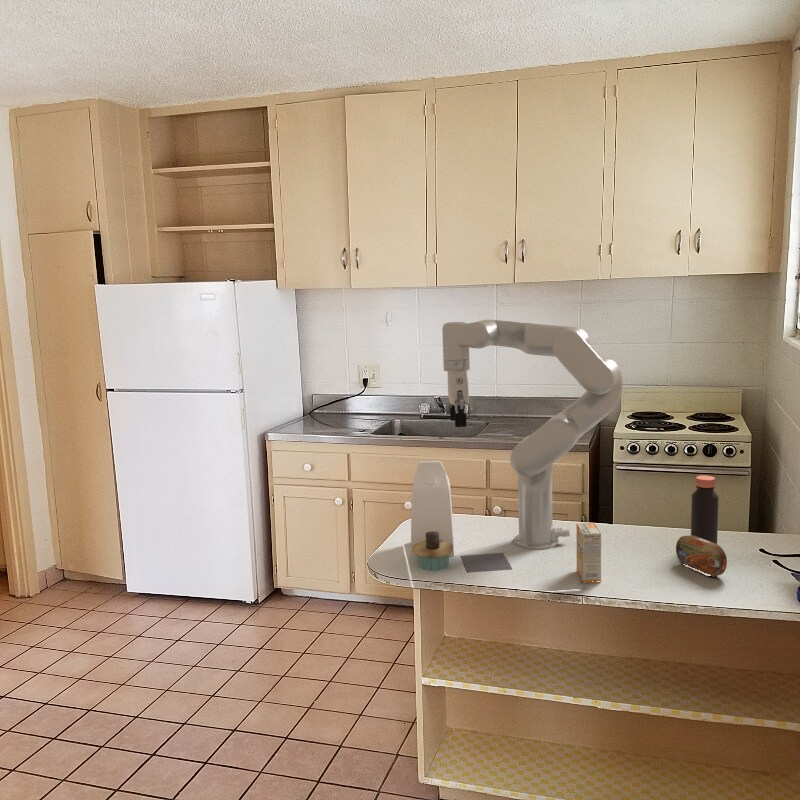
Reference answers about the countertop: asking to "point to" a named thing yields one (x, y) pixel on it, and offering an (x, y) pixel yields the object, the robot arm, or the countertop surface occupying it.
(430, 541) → the lid
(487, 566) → the mat
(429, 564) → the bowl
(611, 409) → the robot arm
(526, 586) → the countertop surface
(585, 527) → the supplement box
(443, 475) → the milk
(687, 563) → the tin
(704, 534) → the bottle
